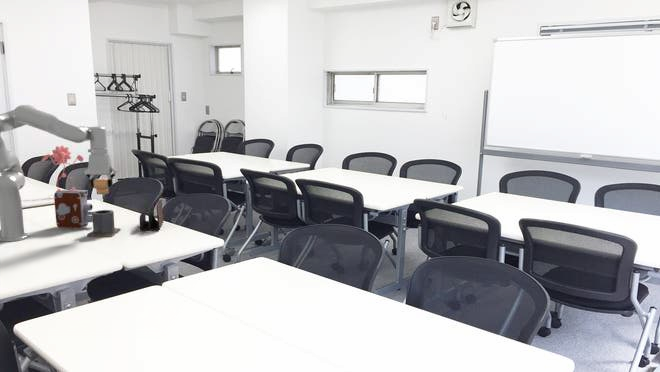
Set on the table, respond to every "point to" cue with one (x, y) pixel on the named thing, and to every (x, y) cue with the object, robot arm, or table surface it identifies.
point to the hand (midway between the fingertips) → (102, 186)
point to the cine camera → (72, 209)
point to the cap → (101, 185)
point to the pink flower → (62, 159)
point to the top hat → (103, 224)
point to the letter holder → (152, 219)
